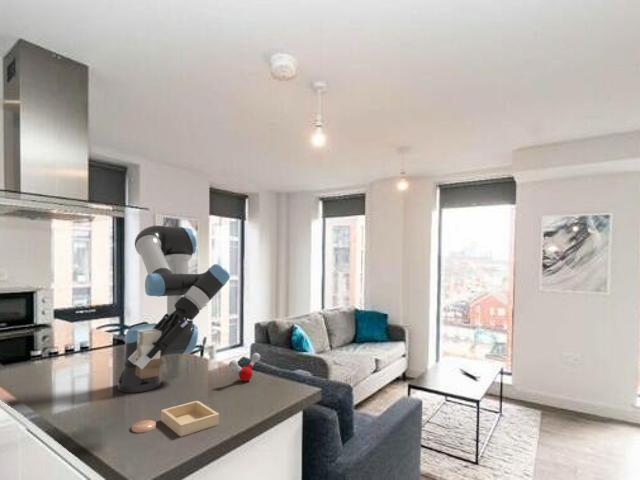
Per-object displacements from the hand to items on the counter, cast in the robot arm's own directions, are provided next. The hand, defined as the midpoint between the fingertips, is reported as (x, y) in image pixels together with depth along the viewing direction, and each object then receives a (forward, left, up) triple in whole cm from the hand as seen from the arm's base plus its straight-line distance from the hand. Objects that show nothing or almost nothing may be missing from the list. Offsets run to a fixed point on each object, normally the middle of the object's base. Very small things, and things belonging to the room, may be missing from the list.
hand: (134, 364), depth 107 cm
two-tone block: (+2, +3, -4) cm, 5 cm away
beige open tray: (+14, +8, -19) cm, 25 cm away
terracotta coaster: (+2, +3, -19) cm, 20 cm away
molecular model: (+19, +50, -20) cm, 57 cm away
